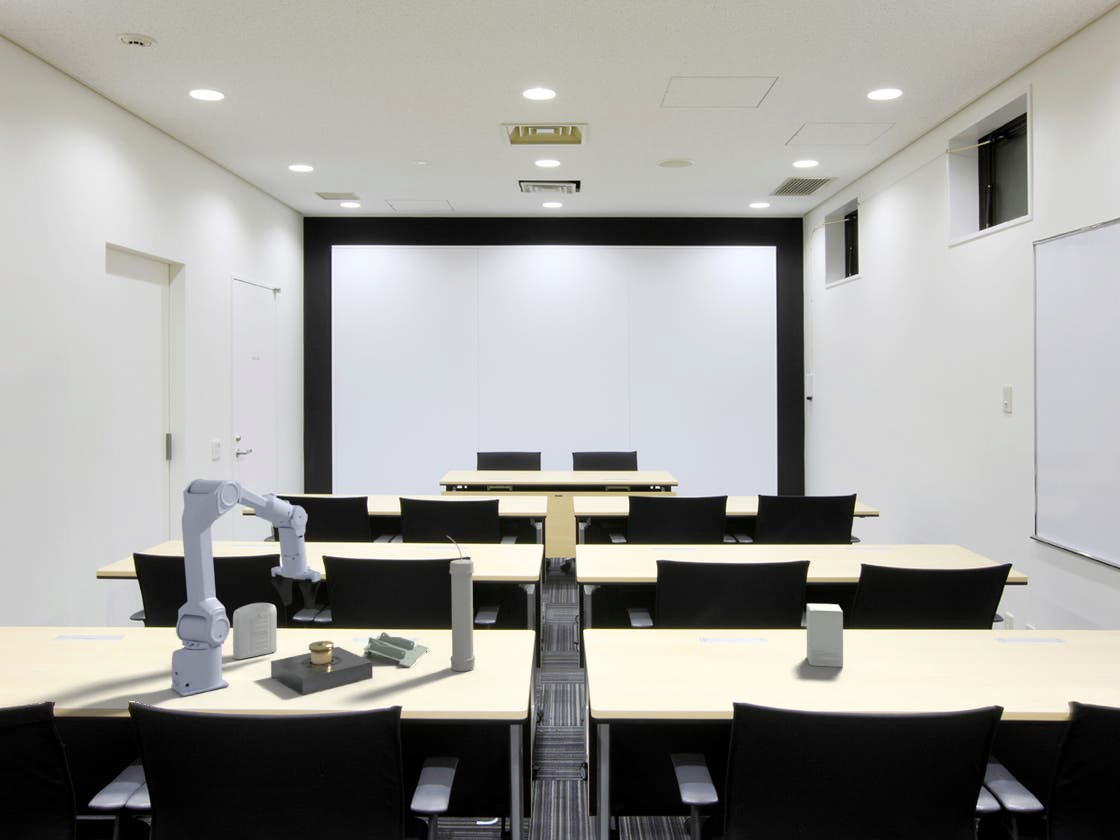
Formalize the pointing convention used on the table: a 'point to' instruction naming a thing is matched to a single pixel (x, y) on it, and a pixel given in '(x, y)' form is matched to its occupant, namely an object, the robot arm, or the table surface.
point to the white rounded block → (254, 630)
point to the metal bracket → (395, 649)
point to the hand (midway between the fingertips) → (299, 606)
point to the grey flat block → (321, 671)
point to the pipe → (462, 614)
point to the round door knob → (321, 652)
